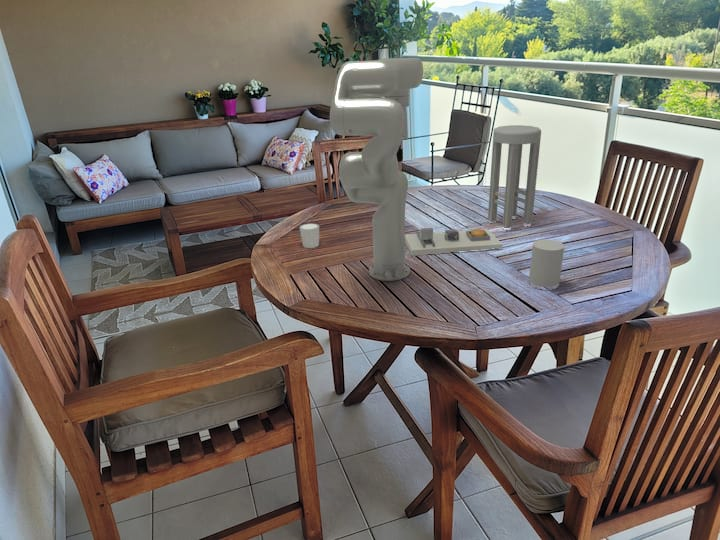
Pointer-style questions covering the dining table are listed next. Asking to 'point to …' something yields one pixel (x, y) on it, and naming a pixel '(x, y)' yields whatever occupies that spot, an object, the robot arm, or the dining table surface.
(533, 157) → the stool
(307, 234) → the shot glass
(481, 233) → the push button
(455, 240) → the switch panel
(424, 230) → the grey slider handle
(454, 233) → the rocker switch
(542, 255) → the cup
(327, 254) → the dining table surface
